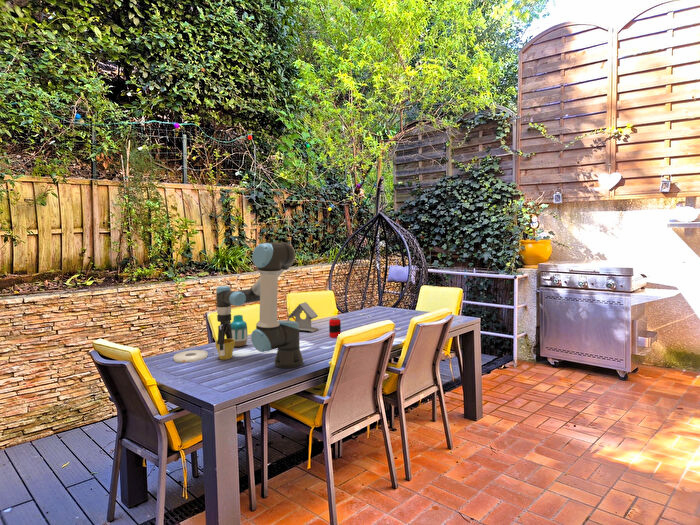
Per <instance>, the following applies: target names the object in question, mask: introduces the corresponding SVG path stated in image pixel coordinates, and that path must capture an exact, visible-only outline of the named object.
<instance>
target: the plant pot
mask: <svg viewBox="0 0 700 525" xmlns="http://www.w3.org/2000/svg"><path fill="white" fill-rule="evenodd" d="M217 343H218V339H217V340H216V341H215V348H216V350H217V353H218V358H219V359H220V360H230V359H231V358H232V357H233V353H234V347H236V346H235V340H234V339H227V338H224V344H225V356H220V352H219V344H217Z"/></svg>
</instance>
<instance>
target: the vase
mask: <svg viewBox="0 0 700 525" xmlns="http://www.w3.org/2000/svg"><path fill="white" fill-rule="evenodd" d="M243 318H244V317H243V315H242V314H235V315H233V320H232V322H231V331H232V337H233V338H232V339H234V340H235V346H234V347H237V348H238V347H244V346H245V345H246V344H247V342H248V324H247V322H246V321H245V320H244V319H243Z"/></svg>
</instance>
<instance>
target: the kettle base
mask: <svg viewBox="0 0 700 525" xmlns="http://www.w3.org/2000/svg"><path fill="white" fill-rule="evenodd" d="M207 356H208V351H206V350H201V349H194V350H193V349H192V350H186V351H185V350H184V351H180V352H177V353H176V354H174V355H173V362H175V363H179V364H181V363H182V364H183V363H185V364H187V362H190V363H195V361H197V362H200V361H199V360H201V361H203V360H202V359H204V360H206V359H208V357H207ZM205 358H206V359H205Z"/></svg>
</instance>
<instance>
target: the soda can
mask: <svg viewBox="0 0 700 525" xmlns="http://www.w3.org/2000/svg"><path fill="white" fill-rule="evenodd" d="M328 321H329V322H328V324H329V327H328V328H329V332H328V333H329V335H328V336H329V338H332V339H337V336H338V334H340V333H341V334H342V332H341V331H342V330H341V327H342V326H341V324H342V323H341V319H340V318H338V317H332V318H330V320H328Z"/></svg>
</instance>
